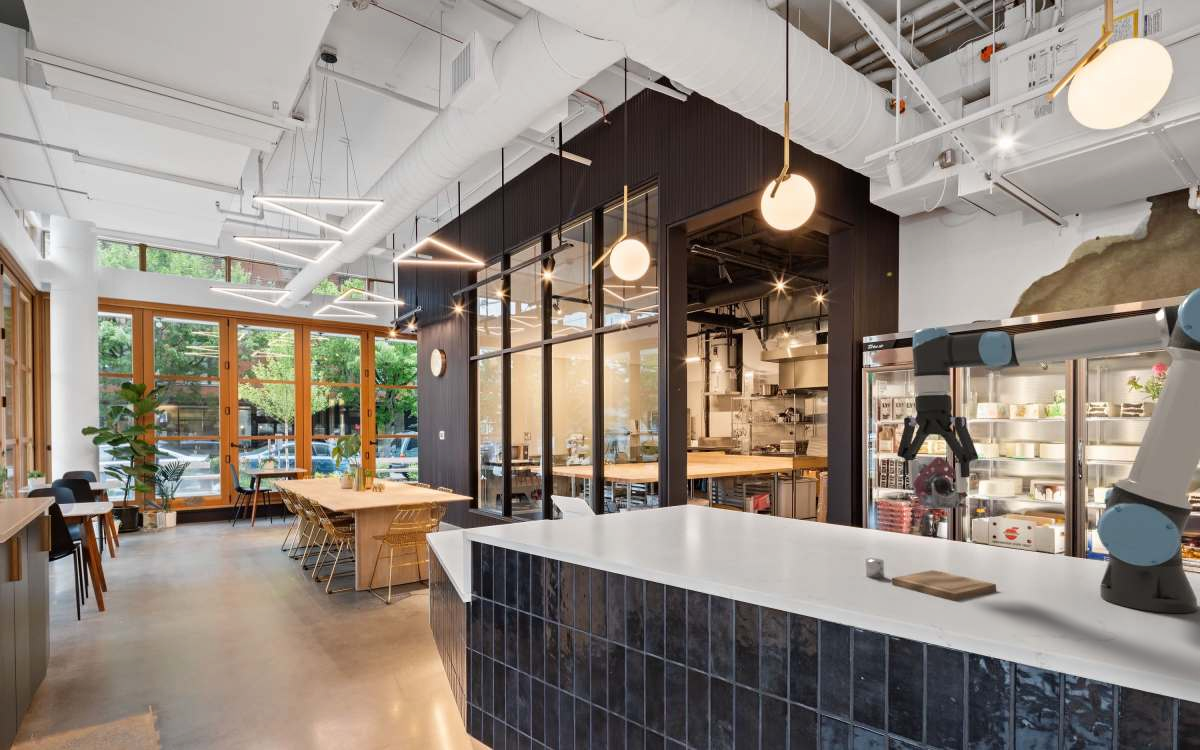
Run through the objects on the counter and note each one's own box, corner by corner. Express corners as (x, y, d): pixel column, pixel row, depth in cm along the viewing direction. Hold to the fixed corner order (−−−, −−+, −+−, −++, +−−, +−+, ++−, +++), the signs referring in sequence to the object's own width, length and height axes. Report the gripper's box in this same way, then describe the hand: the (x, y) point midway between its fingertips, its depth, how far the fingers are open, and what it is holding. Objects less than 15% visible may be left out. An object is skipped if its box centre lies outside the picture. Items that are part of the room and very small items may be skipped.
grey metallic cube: (887, 577, 152) (887, 560, 153) (876, 579, 150) (876, 562, 151) (873, 574, 156) (873, 557, 156) (862, 576, 154) (862, 559, 154)
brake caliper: (922, 497, 140) (911, 453, 148) (913, 522, 148) (903, 478, 156) (979, 498, 138) (964, 453, 146) (966, 523, 146) (953, 479, 154)
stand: (996, 590, 140) (995, 584, 140) (954, 600, 133) (954, 593, 133) (932, 575, 153) (932, 569, 153) (892, 584, 146) (891, 577, 146)
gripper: (993, 392, 139) (998, 493, 138) (898, 396, 160) (902, 484, 158) (973, 392, 136) (979, 495, 134) (878, 396, 156) (882, 486, 154)
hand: (937, 489), depth 146 cm, fingers closed on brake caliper, 11 cm apart
